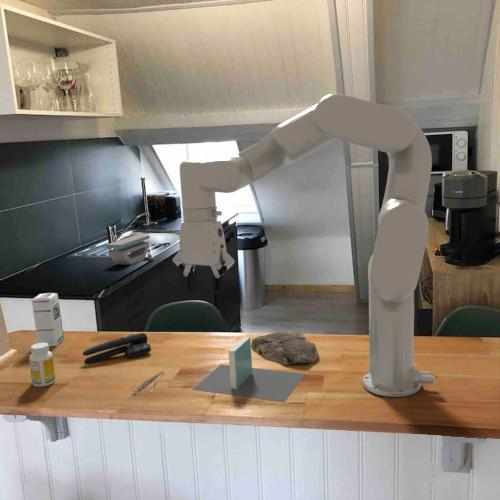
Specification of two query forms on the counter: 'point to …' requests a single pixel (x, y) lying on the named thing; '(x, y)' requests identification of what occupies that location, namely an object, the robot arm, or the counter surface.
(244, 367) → the tile
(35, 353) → the supplement bottle
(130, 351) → the can opener
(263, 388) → the mat
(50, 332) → the syrup box
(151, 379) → the old metal nails
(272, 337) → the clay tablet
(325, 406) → the counter surface
